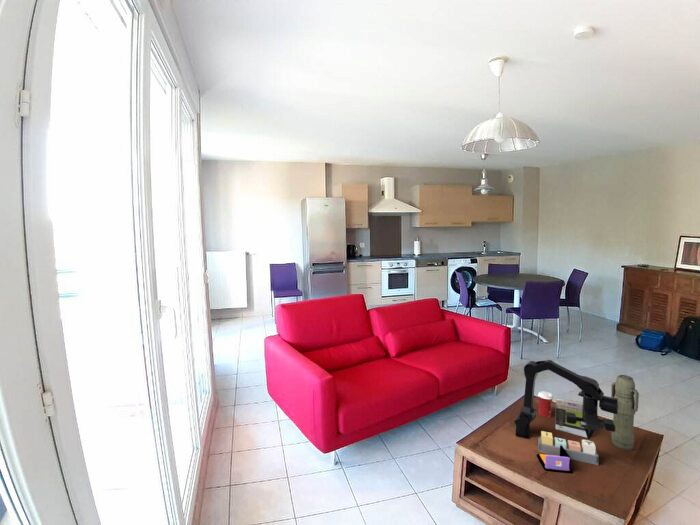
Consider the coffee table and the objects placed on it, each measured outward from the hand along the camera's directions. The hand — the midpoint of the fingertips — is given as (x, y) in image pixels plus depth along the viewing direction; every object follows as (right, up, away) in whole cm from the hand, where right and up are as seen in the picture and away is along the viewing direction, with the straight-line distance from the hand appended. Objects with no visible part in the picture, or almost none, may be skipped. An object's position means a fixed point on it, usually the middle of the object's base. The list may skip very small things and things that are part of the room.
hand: (588, 438), depth 162 cm
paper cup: (+1, -7, +38) cm, 39 cm away
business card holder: (-18, -11, -2) cm, 21 cm away
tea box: (+8, -8, +25) cm, 27 cm away
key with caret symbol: (-10, -8, +5) cm, 14 cm away
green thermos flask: (+25, -9, +11) cm, 28 cm away
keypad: (-8, -10, +4) cm, 13 cm away
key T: (0, -6, 0) cm, 6 cm away
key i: (-15, -6, +8) cm, 18 cm away
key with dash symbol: (-5, -8, +3) cm, 10 cm away
